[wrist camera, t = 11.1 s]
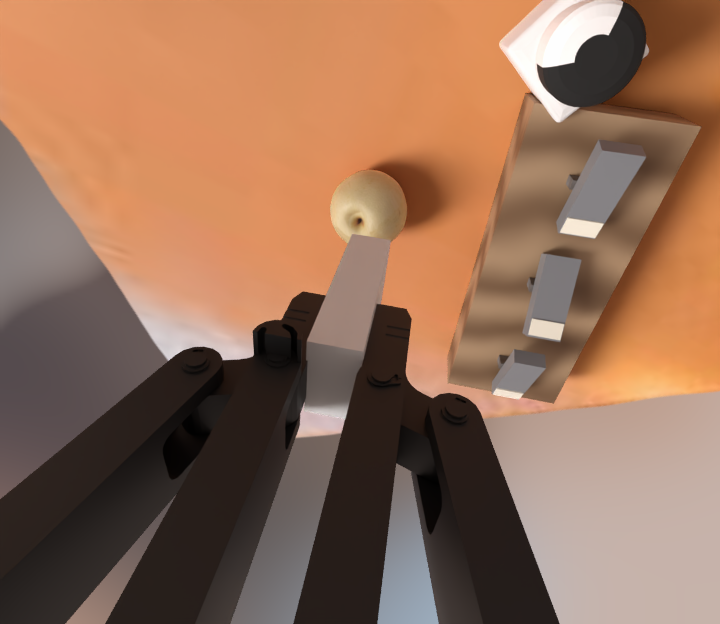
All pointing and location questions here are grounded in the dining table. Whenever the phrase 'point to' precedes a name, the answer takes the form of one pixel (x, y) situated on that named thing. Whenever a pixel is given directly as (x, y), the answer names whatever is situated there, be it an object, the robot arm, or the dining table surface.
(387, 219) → the apple
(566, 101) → the medicine bottle
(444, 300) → the dining table surface
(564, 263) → the block
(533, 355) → the block
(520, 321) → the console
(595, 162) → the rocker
